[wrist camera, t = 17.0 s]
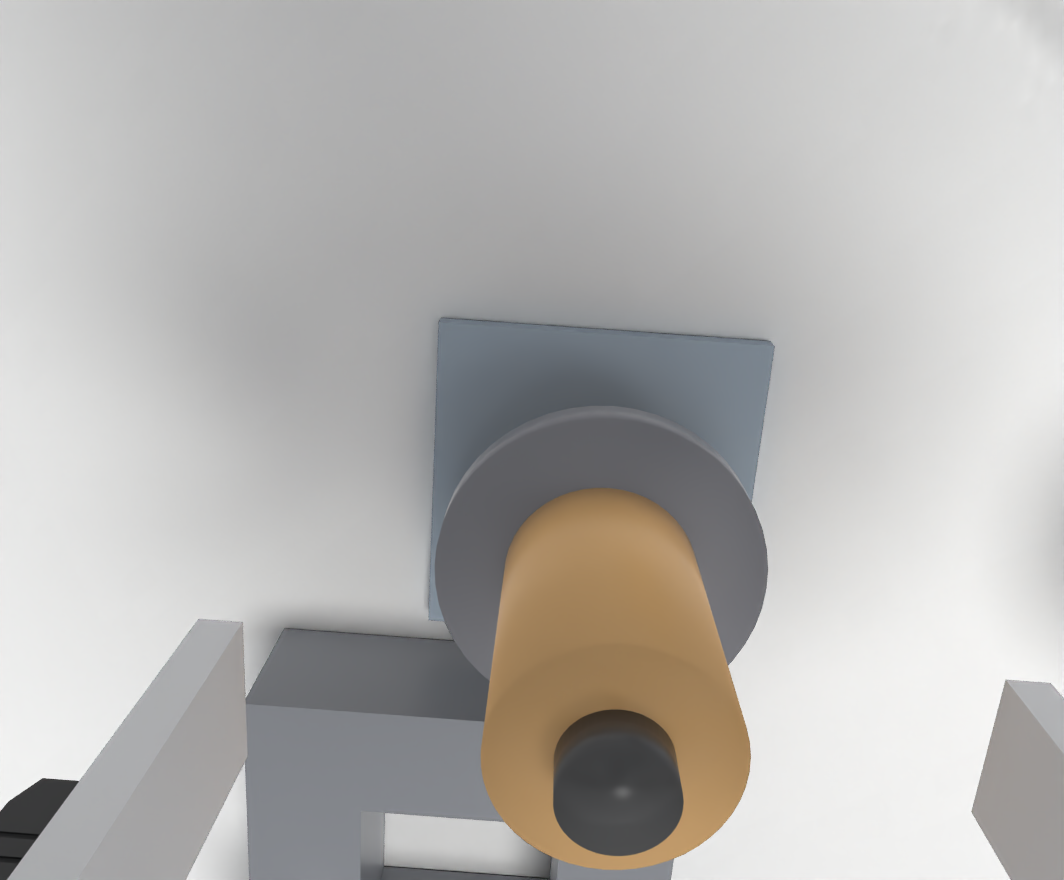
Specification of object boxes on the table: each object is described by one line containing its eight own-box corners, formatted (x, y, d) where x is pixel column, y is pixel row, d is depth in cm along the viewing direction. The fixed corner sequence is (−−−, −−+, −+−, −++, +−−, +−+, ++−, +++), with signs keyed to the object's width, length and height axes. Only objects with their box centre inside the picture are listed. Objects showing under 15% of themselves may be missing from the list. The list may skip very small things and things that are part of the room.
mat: (441, 317, 26) (438, 322, 26) (770, 341, 26) (774, 346, 26) (431, 610, 29) (428, 619, 28) (727, 632, 29) (730, 642, 28)
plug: (464, 349, 26) (374, 561, 13) (746, 369, 26) (914, 601, 13) (453, 600, 28) (368, 974, 16) (710, 619, 28) (825, 1009, 16)
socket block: (284, 628, 29) (227, 730, 24) (674, 657, 29) (696, 765, 24) (290, 933, 33) (242, 1075, 28) (635, 959, 33) (648, 1107, 28)
